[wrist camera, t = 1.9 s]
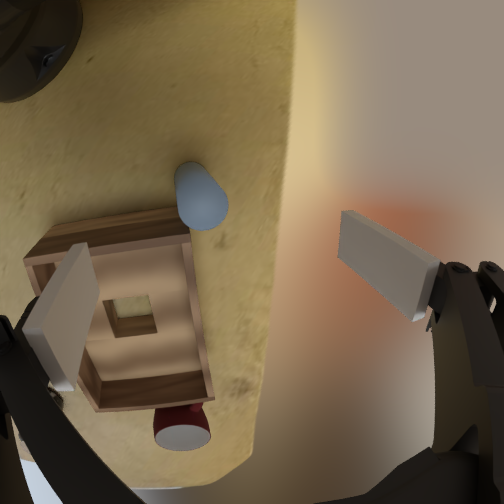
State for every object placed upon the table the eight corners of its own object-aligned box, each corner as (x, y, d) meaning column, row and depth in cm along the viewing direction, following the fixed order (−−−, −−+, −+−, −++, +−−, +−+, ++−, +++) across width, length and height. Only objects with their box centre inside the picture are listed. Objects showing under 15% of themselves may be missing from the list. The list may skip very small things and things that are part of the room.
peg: (172, 163, 30) (175, 184, 19) (206, 160, 31) (227, 179, 20) (175, 195, 32) (180, 233, 21) (208, 192, 32) (229, 227, 22)
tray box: (52, 226, 28) (22, 258, 21) (183, 205, 32) (190, 233, 24) (101, 365, 38) (95, 412, 30) (204, 353, 41) (215, 399, 34)
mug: (165, 355, 40) (170, 409, 31) (214, 368, 43) (228, 419, 35) (145, 397, 42) (147, 446, 34) (189, 406, 46) (198, 453, 37)
